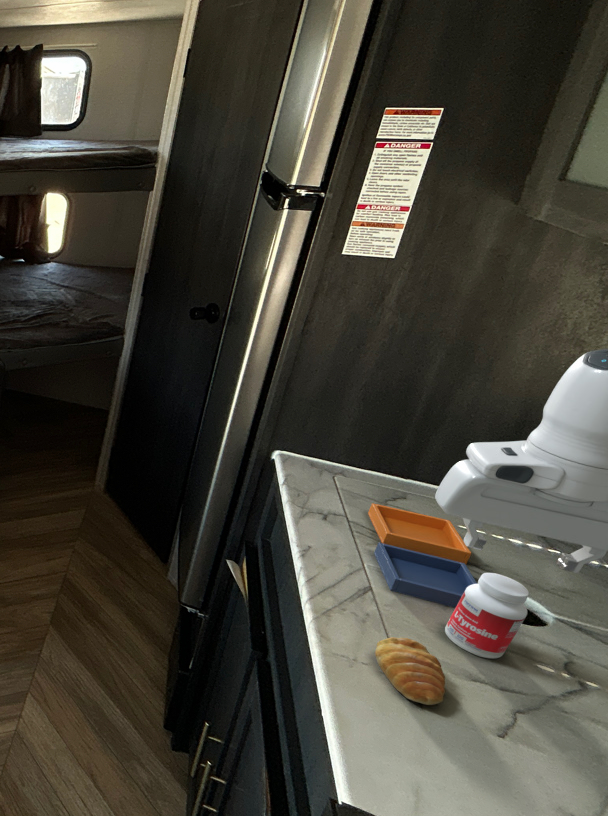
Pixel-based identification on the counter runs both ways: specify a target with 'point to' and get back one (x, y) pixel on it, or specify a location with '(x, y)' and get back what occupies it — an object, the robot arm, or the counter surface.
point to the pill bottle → (488, 615)
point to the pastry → (411, 669)
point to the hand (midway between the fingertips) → (518, 557)
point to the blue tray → (423, 574)
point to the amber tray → (418, 533)
